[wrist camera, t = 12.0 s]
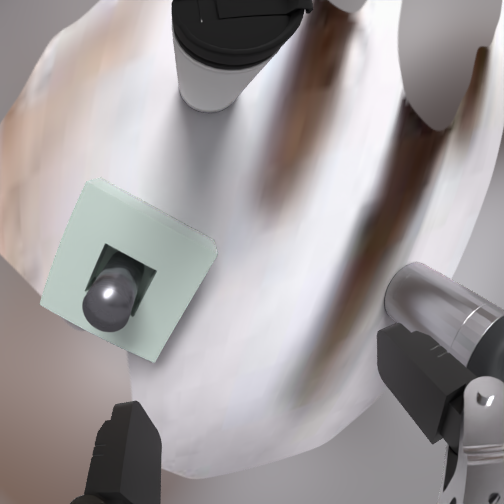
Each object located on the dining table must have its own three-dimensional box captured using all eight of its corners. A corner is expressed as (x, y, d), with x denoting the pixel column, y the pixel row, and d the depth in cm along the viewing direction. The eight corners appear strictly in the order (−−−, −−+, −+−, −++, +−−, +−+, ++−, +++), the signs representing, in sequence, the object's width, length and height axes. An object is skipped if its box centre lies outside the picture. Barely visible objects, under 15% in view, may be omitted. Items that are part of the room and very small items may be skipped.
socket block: (213, 240, 34) (218, 254, 29) (157, 338, 36) (154, 363, 31) (100, 177, 30) (86, 181, 25) (55, 286, 32) (39, 304, 27)
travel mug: (247, 107, 31) (326, 49, 12) (183, 118, 30) (177, 61, 11) (237, 54, 29) (300, -50, 10) (175, 63, 28) (164, -45, 9)
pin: (150, 260, 32) (137, 302, 23) (135, 290, 33) (119, 340, 24) (117, 242, 31) (91, 278, 22) (103, 274, 32) (76, 318, 22)
